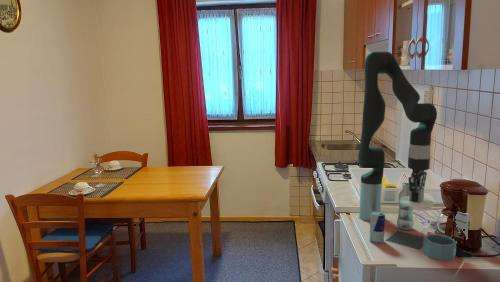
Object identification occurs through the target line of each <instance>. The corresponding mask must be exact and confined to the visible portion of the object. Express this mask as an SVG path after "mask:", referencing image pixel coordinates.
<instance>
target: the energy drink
mask: <svg viewBox="0 0 500 282" xmlns="http://www.w3.org/2000/svg"><path fill="white" fill-rule="evenodd" d="M385 221H386V214H385V213H384V212H383V211H381V210H380V211H373V212H371V219H370V221H369V223H370V224H369V239H368V240H369V243H371V244H372V245H383V244H384V242H385V228H386V227H385V226H386V224H385V223H386V222H385Z"/></svg>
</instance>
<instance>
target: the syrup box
mask: <svg viewBox="0 0 500 282" xmlns="http://www.w3.org/2000/svg"><path fill="white" fill-rule="evenodd" d="M469 218H470V217H469V214H468V213H462V212H457V214H456V216H455V219H456V224H457V225H456V227H458V228H460V229H462V231H463V229H465V231H463V233H464V234H465V236H466V240H467V239H468V228H469V226H470V219H469Z"/></svg>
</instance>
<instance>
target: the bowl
mask: <svg viewBox="0 0 500 282" xmlns="http://www.w3.org/2000/svg"><path fill="white" fill-rule="evenodd" d="M423 237H424V241H423V247H422V253H423V254H424V255H425V256H427V257H428V258H430V259H433V260H438V261H440V262H441V261H442V262H446V261H447V262H448V261H449V262H450V261H454V259H455V258H456V256H457V255H456V253H457V246H456V244H457V241H455V240H454V239H452V237H451V236H447V235H443V234H439V233H431V234H429V233H428V234H425V236H423Z"/></svg>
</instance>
